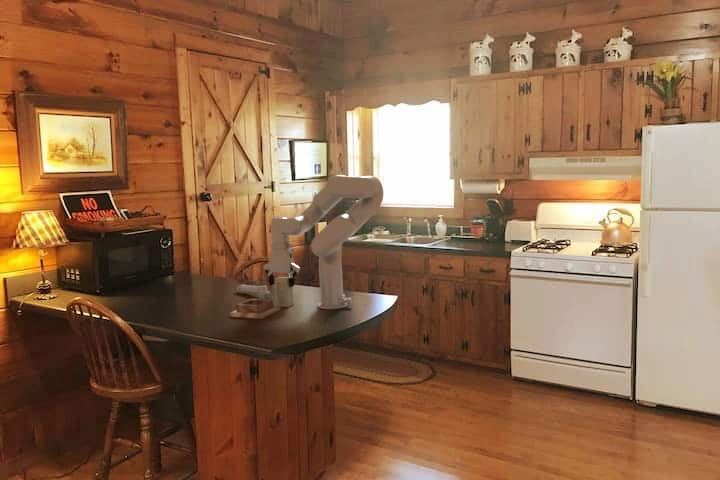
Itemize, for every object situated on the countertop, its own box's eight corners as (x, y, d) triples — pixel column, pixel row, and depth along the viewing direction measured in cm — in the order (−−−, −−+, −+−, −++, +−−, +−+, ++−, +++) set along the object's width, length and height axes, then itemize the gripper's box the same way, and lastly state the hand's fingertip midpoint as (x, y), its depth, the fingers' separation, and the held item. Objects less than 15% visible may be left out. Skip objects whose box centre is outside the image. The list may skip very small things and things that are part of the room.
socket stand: (280, 309, 251) (279, 298, 251) (261, 318, 238) (261, 307, 237) (249, 307, 257) (249, 297, 257) (229, 316, 243) (228, 305, 243)
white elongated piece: (243, 283, 292) (270, 282, 273) (245, 297, 292) (272, 297, 273) (233, 285, 288) (260, 284, 269) (235, 299, 289) (262, 299, 270)
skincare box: (294, 304, 259) (292, 276, 257) (288, 307, 255) (287, 278, 253) (281, 304, 261) (279, 276, 260) (275, 306, 257) (274, 278, 256)
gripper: (302, 245, 255) (303, 285, 257) (267, 244, 261) (268, 282, 264) (294, 248, 248) (295, 289, 250) (258, 246, 255) (259, 286, 257)
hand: (281, 285), depth 257 cm, fingers open, 9 cm apart
